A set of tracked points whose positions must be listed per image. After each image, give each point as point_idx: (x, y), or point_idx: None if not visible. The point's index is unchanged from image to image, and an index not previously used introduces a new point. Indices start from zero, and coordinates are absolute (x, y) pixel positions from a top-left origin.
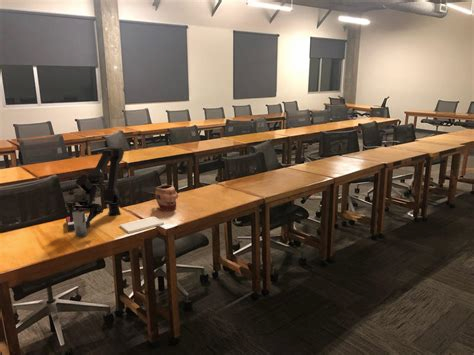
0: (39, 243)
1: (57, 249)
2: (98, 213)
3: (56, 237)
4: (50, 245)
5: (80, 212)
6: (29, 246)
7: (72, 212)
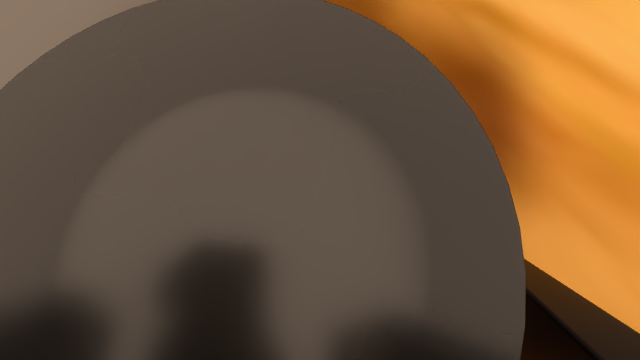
0: (602, 67)
1: (362, 8)
2: None
3: (558, 204)
4: (469, 51)
5: (28, 103)
6: (633, 11)
7: (420, 53)
